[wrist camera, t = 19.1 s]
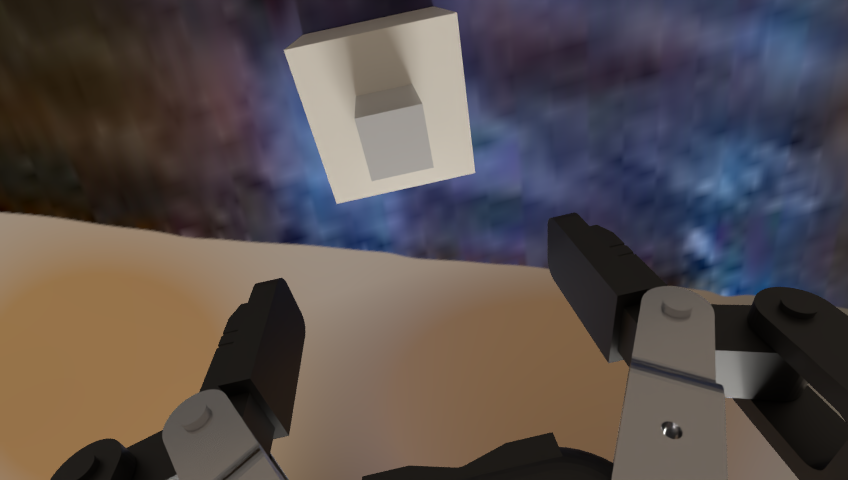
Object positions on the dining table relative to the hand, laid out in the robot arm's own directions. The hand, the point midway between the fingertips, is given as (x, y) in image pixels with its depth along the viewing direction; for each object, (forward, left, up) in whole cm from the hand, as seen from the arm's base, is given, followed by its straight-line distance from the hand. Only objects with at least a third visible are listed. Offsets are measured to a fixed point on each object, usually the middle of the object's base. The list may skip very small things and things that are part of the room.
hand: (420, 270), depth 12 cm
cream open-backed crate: (0, 0, -25) cm, 25 cm away
